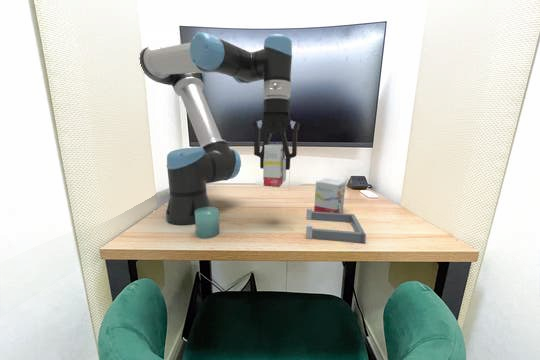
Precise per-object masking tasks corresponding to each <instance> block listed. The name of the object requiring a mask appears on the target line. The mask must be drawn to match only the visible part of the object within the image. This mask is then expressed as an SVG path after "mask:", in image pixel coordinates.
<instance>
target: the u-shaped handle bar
mask: <svg viewBox="0 0 540 360" xmlns="http://www.w3.org/2000/svg"><path fill="white" fill-rule="evenodd" d="M312 208H313V207H306V220H308V221H309V220H311V221H313V220H314V221H324V222H325V221H327V222H338V223H350V225H351V227H352V229H353V231H350V230H349V231H348V230H335V229H327V228H326V229H324V228H313V224H311V223H306V228H305V239H308V240H313V239H314V240H321V241H322V240H324V241H333V242H334V241H335V242H346V243H356V244H366V240H367V239H366V237H367V234H366V232H365V231H364V229H363V227H362V226H361V223H360V221H358V219H357V216H356V215H355V214H354V213H342V212H341V213H328V212H314V210H313V209H312Z"/></svg>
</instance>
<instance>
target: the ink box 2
mask: <svg viewBox="0 0 540 360" xmlns="http://www.w3.org/2000/svg"><path fill="white" fill-rule="evenodd" d="M314 191H315V194H314V208H313V211H314V212H328V213H342V212H343V211H344V204H345V194H346V181H345V180H339V179H332V178H327V177H326V178H322V179H319V180H316V181H315V190H314Z"/></svg>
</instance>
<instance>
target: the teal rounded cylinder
mask: <svg viewBox="0 0 540 360" xmlns="http://www.w3.org/2000/svg"><path fill="white" fill-rule="evenodd" d="M219 214H220V213H219V208H217V207H216V206H212V207H202V208H199V209H197V210H195V223H194V224H195V236H196V237H197V238H198V239H201V240H202V239H203V240H206V239H213V238H215V237H217V236H219V234H220V218H219V217H220V216H219Z"/></svg>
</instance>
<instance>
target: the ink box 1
mask: <svg viewBox="0 0 540 360" xmlns="http://www.w3.org/2000/svg"><path fill="white" fill-rule="evenodd" d="M284 158H286V157H285V152H284V148H283V144H276V143H275V144H272V143H269V145H264V180H263V186H264V187H270V188H271V187H272V188H280V187H281V186H282V185H283V183H284V182H285V181H282V178H283V159H284Z"/></svg>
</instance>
